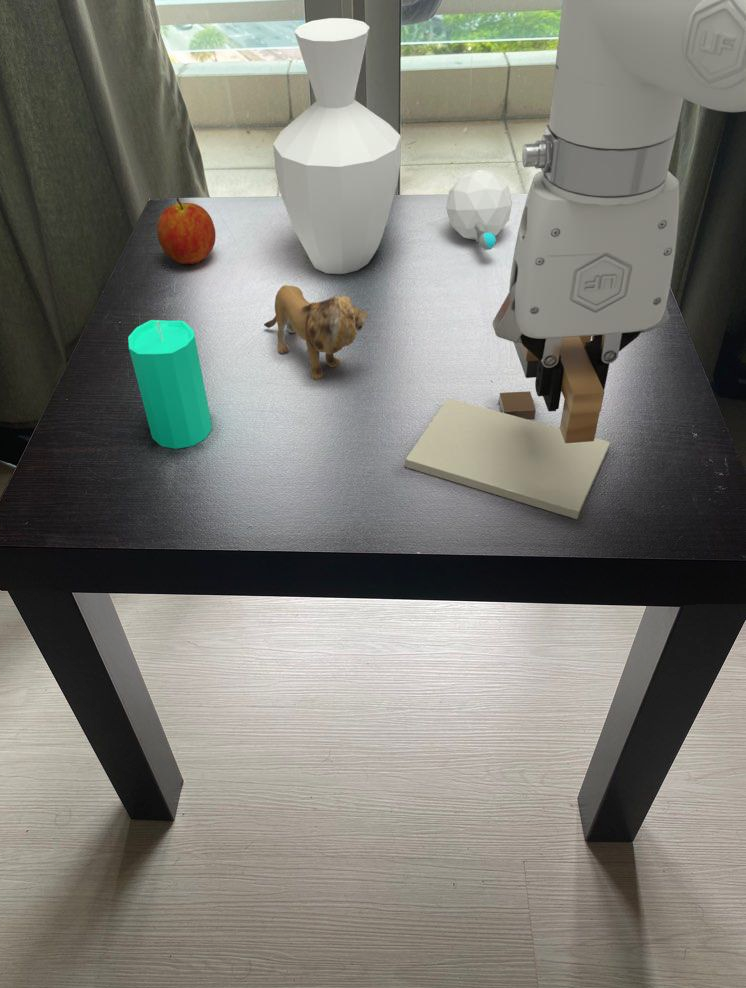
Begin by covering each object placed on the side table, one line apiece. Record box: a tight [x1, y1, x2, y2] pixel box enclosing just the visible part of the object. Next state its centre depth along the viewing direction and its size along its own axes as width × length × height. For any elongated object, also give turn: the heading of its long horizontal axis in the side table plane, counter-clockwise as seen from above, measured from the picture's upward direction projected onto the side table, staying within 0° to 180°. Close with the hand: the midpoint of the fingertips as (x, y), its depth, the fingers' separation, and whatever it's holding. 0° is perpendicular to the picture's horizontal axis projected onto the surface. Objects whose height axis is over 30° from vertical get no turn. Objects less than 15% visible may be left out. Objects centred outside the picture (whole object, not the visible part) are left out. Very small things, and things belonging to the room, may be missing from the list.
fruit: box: [156, 197, 216, 265], centre depth 102 cm, size 7×7×8 cm
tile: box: [404, 397, 611, 520], centre depth 77 cm, size 16×10×1 cm, turn 63°
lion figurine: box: [263, 284, 368, 380], centre depth 87 cm, size 15×5×9 cm, turn 44°
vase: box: [272, 17, 402, 275], centre depth 95 cm, size 14×14×25 cm
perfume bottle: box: [445, 168, 513, 251], centre depth 103 cm, size 8×8×12 cm
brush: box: [513, 336, 605, 443], centre depth 66 cm, size 14×5×5 cm, turn 3°
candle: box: [127, 319, 213, 450], centre depth 78 cm, size 6×6×12 cm
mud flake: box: [498, 391, 537, 419], centre depth 82 cm, size 3×3×1 cm
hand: (567, 397), depth 65 cm, fingers closed on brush
